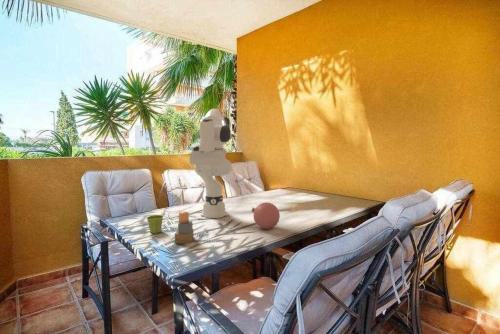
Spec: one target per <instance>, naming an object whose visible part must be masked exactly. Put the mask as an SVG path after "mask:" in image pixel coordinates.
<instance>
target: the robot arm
mask: <svg viewBox="0 0 500 334" xmlns="http://www.w3.org/2000/svg"><path fill="white" fill-rule="evenodd" d="M199 121H200V122H199V127H198V128H199V129H198V139H199V145H195V146H192V147H191V148H190V149H191V153H190V154H189V164H190V165H194V172H195V174H196V175H197V176H199V177H200V178H201V179H202V181H203V183H204V185H205V186H204V187H205V200H204V201H205V202H204V203H203V205H202V206H203V209H202V210H203V212H202V213H201V214H200V216H201V217H204V218H209V219H219V218H223V217H228V216H229V213H228V212H227V209H226V203H225V202H224V201H223V200H224V197H223V185H222V183H221V182H220V181H218V180H216V179H215V178H214V176H216V177H217V176H220V177H221V176H227V175H230V174H231V173H232V171H233V163H232V162H231V161H230V160H229V159H227V158H226V155H227V149H226V148H224V143H227V142H229V141H230V140H231V138H232V130H231V127H232V122H231V119H230V118H229V117H226V116H222V113H221V111H220V110H219V109H218V108H211V109H209V110H208V111H207V113H206V114H205V115H204V116H203V117H202V118H200V120H199Z"/></svg>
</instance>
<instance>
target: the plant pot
mask: <svg viewBox="0 0 500 334" xmlns="http://www.w3.org/2000/svg"><path fill="white" fill-rule="evenodd" d="M163 219H164V215H162V214H155V215H149V216H146V220H147V222H148V228H149V233H151V234H158V233H159V232H160V233H161V232H162V228H163V227H162V225H163Z"/></svg>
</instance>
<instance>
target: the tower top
mask: <svg viewBox="0 0 500 334" xmlns="http://www.w3.org/2000/svg"><path fill="white" fill-rule="evenodd" d="M177 228H178V229H177V231H178V234H190V233H191V232H192V230H193V231H194V228H193V220H189V222H188V223H185V224H181V223H179V222H178V223H177Z"/></svg>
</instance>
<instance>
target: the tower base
mask: <svg viewBox="0 0 500 334" xmlns="http://www.w3.org/2000/svg"><path fill="white" fill-rule="evenodd" d="M194 234H195V233H194V229H193V230H192V232H191V233H190V234H178V230H177V231H176V232H175V233H174V243H175V244H191V243H192V242H193V240H194V237H195V236H194Z"/></svg>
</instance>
